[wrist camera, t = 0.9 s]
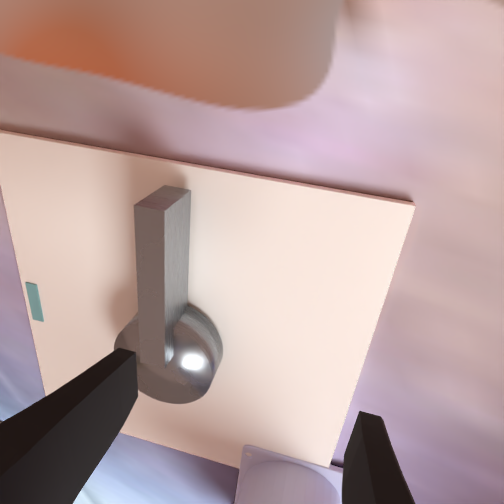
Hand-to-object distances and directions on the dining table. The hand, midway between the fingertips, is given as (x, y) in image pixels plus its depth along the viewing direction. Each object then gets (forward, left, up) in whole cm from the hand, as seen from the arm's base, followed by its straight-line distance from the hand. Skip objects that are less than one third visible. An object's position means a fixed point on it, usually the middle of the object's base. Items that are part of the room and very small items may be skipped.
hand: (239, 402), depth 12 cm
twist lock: (-3, +6, -9) cm, 11 cm away
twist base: (-6, +6, -9) cm, 13 cm away
